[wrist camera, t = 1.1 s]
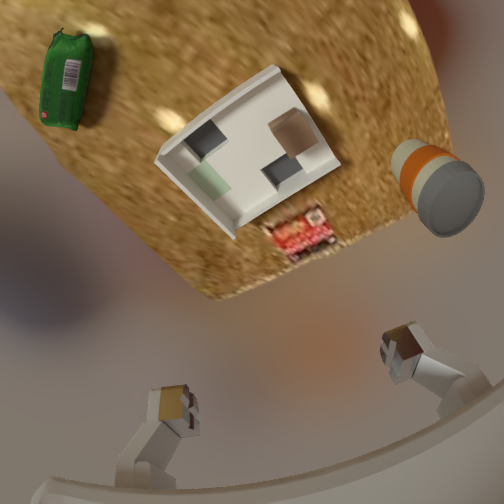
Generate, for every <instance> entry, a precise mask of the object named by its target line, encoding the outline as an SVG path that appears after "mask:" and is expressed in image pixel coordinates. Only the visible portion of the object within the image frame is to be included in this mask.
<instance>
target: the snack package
mask: <svg viewBox="0 0 504 504" xmlns="http://www.w3.org/2000/svg"><path fill="white" fill-rule="evenodd" d="M63 29H64V28H62V29H61V30H60V31H58V32H57V33H55V34H54V35H53V41H52V43H51V45H50V47H49V49H48V51H47V54H46V57H45V62H44V67H43V75H42V83H41V90H40V104H39V117H40V120H41V122H42V123H43V124H44V125H46V126H52V127H63V128H68V129H71V130H73V131H77V129H78V125H79V122H80V119H81V117H82V115H83V112H84V103H85V95H86V90H87V86H88V82H89V76H90V70H91V64H92V59H93V46H92V43H91V39H90V37H89V35H87V34H83V35H80V36H71V35H67V34H63V33H62V30H63Z"/></svg>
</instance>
